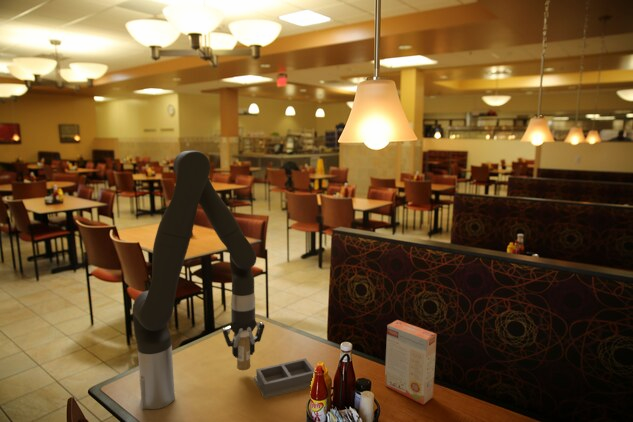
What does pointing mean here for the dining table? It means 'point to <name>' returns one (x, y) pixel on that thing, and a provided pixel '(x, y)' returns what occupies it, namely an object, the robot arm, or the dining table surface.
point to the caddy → (284, 378)
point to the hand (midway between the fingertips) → (243, 354)
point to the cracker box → (410, 361)
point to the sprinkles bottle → (243, 351)
